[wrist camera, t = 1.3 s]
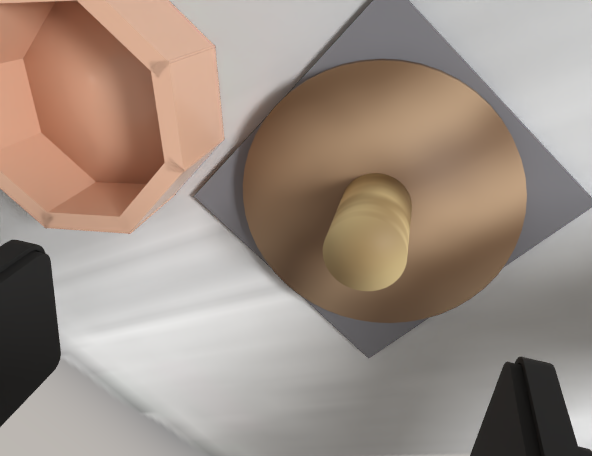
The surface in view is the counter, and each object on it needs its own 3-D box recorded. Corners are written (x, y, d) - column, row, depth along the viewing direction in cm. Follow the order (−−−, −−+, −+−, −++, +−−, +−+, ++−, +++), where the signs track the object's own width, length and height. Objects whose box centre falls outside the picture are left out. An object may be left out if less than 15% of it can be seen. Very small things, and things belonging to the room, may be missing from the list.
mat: (594, 200, 29) (596, 203, 29) (369, 353, 37) (368, 358, 37) (391, -19, 27) (390, -19, 27) (196, 193, 35) (193, 196, 34)
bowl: (264, 94, 31) (229, 119, 26) (144, 229, 37) (96, 272, 32) (89, -79, 29) (13, -90, 24) (-8, 93, 35) (-86, 114, 30)
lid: (588, 209, 29) (629, 273, 23) (373, 354, 37) (361, 432, 30) (383, -11, 27) (367, -5, 21) (198, 191, 34) (146, 239, 28)
